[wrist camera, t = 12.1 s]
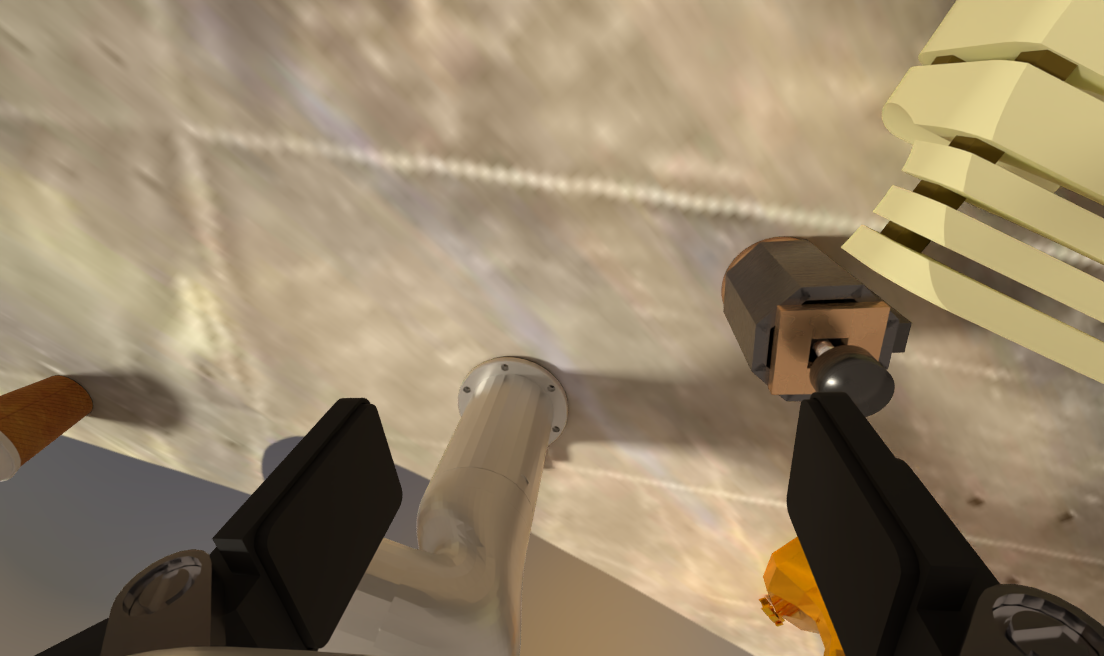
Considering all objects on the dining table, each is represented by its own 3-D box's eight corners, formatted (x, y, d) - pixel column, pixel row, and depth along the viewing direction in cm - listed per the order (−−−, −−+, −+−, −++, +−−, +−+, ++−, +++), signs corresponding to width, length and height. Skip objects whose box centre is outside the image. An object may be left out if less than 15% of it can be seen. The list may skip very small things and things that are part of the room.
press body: (836, 329, 47) (908, 409, 35) (718, 333, 48) (750, 410, 37) (853, 232, 42) (940, 285, 31) (724, 240, 44) (761, 293, 33)
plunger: (816, 327, 44) (904, 434, 30) (742, 330, 45) (796, 434, 31) (826, 260, 41) (928, 344, 28) (747, 264, 42) (809, 347, 29)
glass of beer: (71, 430, 67) (-34, 495, 56) (19, 373, 63) (-103, 431, 52) (119, 416, 64) (20, 481, 54) (68, 356, 61) (-49, 413, 50)
